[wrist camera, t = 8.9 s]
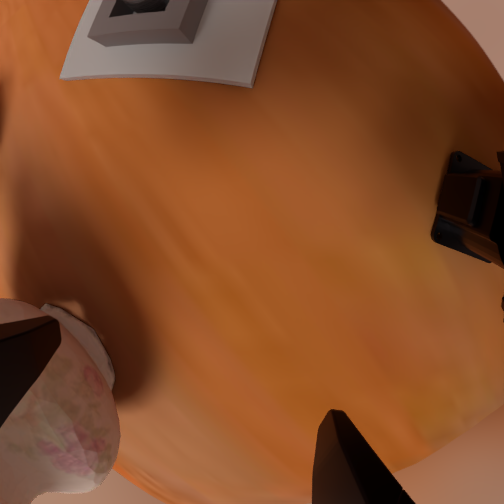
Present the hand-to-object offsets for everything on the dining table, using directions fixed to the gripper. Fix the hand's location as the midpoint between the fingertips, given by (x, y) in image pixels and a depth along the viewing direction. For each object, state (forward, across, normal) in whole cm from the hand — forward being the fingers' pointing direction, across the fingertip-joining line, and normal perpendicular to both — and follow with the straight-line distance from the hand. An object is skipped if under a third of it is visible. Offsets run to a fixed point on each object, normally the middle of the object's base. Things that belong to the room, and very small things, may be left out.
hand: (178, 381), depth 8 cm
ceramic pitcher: (+12, +16, +14) cm, 25 cm away
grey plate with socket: (+12, +10, -17) cm, 23 cm away
